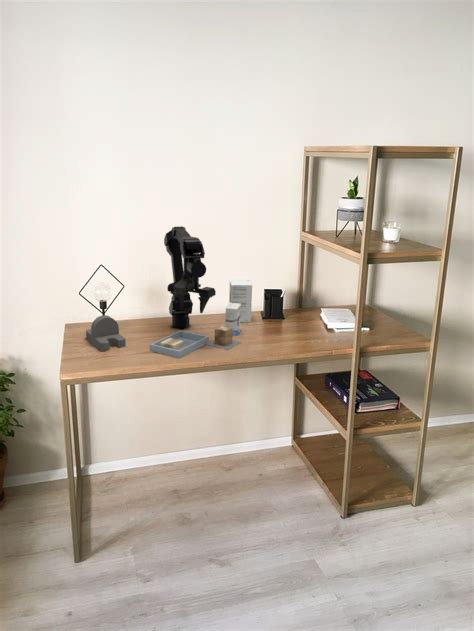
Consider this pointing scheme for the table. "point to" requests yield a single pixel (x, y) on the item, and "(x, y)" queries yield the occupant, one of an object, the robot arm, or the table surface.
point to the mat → (224, 346)
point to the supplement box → (242, 297)
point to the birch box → (172, 344)
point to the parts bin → (189, 344)
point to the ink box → (233, 317)
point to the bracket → (105, 334)
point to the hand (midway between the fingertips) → (191, 311)
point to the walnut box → (223, 335)
